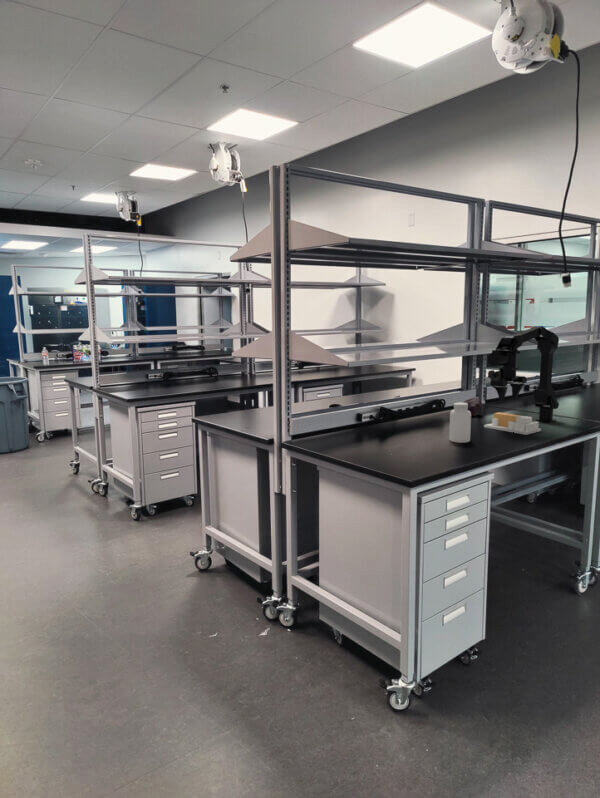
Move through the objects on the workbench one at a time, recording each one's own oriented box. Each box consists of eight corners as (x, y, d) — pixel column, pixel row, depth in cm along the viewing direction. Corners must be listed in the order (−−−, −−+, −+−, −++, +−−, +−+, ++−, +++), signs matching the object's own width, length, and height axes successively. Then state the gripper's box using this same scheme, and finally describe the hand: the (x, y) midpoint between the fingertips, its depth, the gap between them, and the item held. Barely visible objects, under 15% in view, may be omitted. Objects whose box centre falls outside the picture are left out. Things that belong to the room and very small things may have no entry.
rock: (457, 418, 263) (476, 420, 256) (455, 401, 261) (475, 403, 254) (468, 411, 271) (487, 413, 264) (467, 395, 269) (486, 396, 262)
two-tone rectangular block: (498, 423, 239) (499, 412, 238) (531, 428, 226) (532, 417, 226) (493, 424, 236) (493, 413, 236) (525, 430, 224) (526, 418, 223)
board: (498, 423, 243) (499, 415, 242) (540, 431, 227) (541, 421, 226) (484, 427, 236) (484, 418, 236) (526, 434, 220) (526, 425, 220)
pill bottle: (455, 443, 208) (456, 405, 206) (445, 439, 216) (446, 402, 213) (474, 442, 210) (475, 404, 207) (463, 437, 217) (465, 401, 215)
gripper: (505, 362, 242) (503, 396, 244) (479, 365, 231) (478, 401, 233) (528, 363, 233) (526, 399, 235) (502, 367, 222) (501, 404, 224)
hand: (507, 400), depth 232 cm, fingers open, 9 cm apart
